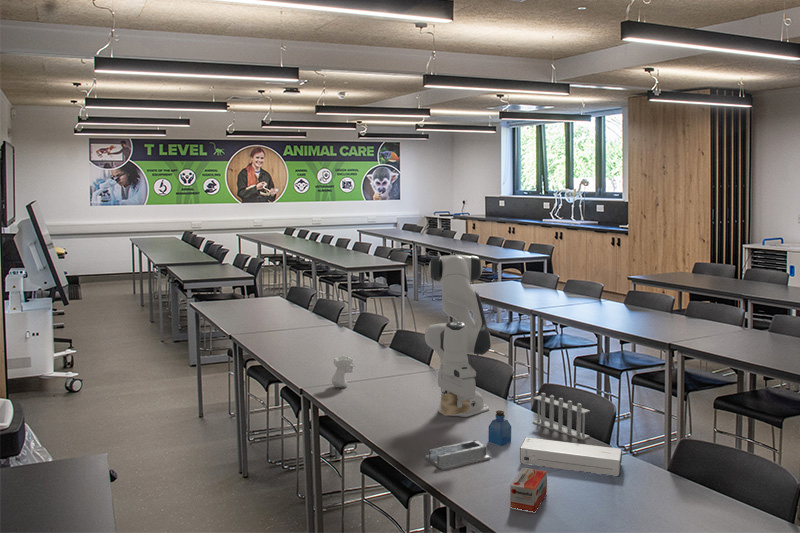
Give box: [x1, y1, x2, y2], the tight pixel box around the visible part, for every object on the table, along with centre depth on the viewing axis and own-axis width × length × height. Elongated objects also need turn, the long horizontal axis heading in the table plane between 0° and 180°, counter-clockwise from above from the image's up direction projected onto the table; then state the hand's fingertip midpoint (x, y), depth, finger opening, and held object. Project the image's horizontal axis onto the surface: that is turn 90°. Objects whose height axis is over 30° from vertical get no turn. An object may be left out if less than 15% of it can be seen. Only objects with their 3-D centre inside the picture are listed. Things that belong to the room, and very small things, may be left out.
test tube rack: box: [532, 392, 591, 441], centre depth 275 cm, size 25×4×13 cm, turn 39°
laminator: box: [519, 437, 623, 477], centre depth 242 cm, size 34×12×6 cm, turn 69°
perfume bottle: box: [487, 410, 512, 447], centre depth 263 cm, size 6×6×12 cm
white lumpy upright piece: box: [331, 355, 355, 388], centre depth 335 cm, size 10×11×15 cm
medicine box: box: [509, 467, 548, 512], centre depth 214 cm, size 15×8×8 cm, turn 155°
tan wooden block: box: [440, 393, 469, 417], centre depth 245 cm, size 10×3×7 cm, turn 117°
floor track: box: [425, 439, 491, 471], centre depth 247 cm, size 20×12×4 cm, turn 118°
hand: (455, 405), depth 246 cm, fingers closed on tan wooden block, 3 cm apart
